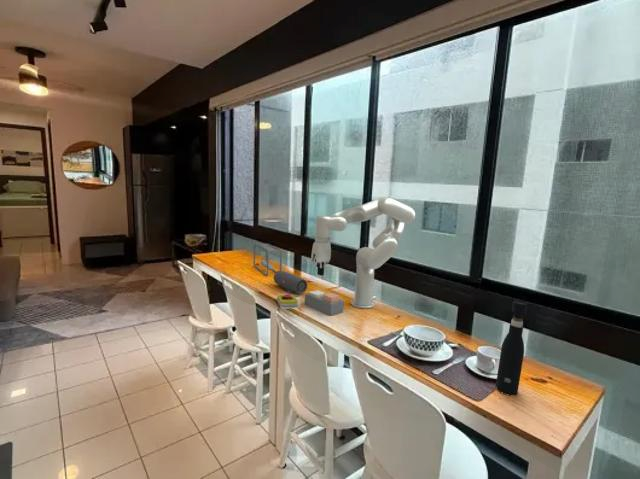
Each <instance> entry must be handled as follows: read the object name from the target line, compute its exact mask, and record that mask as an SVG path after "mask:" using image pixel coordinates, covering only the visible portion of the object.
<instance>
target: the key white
mask: <svg viewBox="0 0 640 479" xmlns="http://www.w3.org/2000/svg"><path fill="white" fill-rule="evenodd" d="M309 293H310V295H312V296H315V297H317V298H318V297H322V296H323V295H324V294H327V293H326V292H323V291H321V290H318V289H317V290H313V291H312V290H311V291H309Z"/></svg>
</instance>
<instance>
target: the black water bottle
mask: <svg viewBox="0 0 640 479" xmlns="http://www.w3.org/2000/svg"><path fill="white" fill-rule="evenodd" d="M527 307H528V303H526V302H525V301H521V300H513V301H512V308H511V312H512V313H513V315H512V319H511V320H510V321H511V322H510V324H509V329H508V332H507V334H506V336H505V338H504V340H503V341H502V345H501V348H500V356H499V361H498V367H497V373H496V379H495V380H496V381H495V388H496V387H497V389H498V390H499V391H501V392H503V393H506V394H509V395H508V396H510V395H515V396H517V395H518V391H519V386H520V380H521V373H522V368H523V364H524V363H523V362H524V358H525V357H524V355H525V345H524V339H523V331H524V327H523V326H524V325H523V324H524V321H523V319H524V318H523V317H524V315H527V314H526V313H527ZM497 389H496V390H497ZM498 390H497V391H498ZM499 391H498V392H499ZM501 392H500V393H501ZM503 393H502V394H503ZM506 394H505V395H506ZM516 394H517V395H516Z"/></svg>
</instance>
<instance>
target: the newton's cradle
mask: <svg viewBox="0 0 640 479" xmlns="http://www.w3.org/2000/svg"><path fill="white" fill-rule="evenodd" d="M256 247H258V248H260V252H261V253H262V255H263V256H262V260H261V261H260V265H256ZM263 251H264V252H263ZM271 251H273V252H280V253H279V254H280V255H279V259H280V260H279V271H282V262H283V251H282V249H280V248H278V247H277V246H274V245H272V244H270V243H254V245H253V261H252V262H253V267H254V268H255V269H256V270H257V271H259V272H260V273H261V274H263V275H264V277H265V276H266V277H268V276H269V271H273V272H274V273H273V274H272V276H274V275H275V273H276V272H277V271H278V270H275V269H274V266H273V265H272V262H271V261H273V259H274V258H272V259H271V257H270V256H272V254H273V256H275V255H274V254H275V253H271ZM270 254H271V255H270ZM260 267H261V268H262V267H264V268H266V272H264V271H263V270H261V269H260Z"/></svg>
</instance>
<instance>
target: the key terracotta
mask: <svg viewBox="0 0 640 479" xmlns="http://www.w3.org/2000/svg"><path fill="white" fill-rule="evenodd" d="M323 300H325V301H327V302H330V303H334V302H337V301H340V300H341V295H339V294H336V293H333V292H328V293H326V294H324V295H323Z"/></svg>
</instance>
